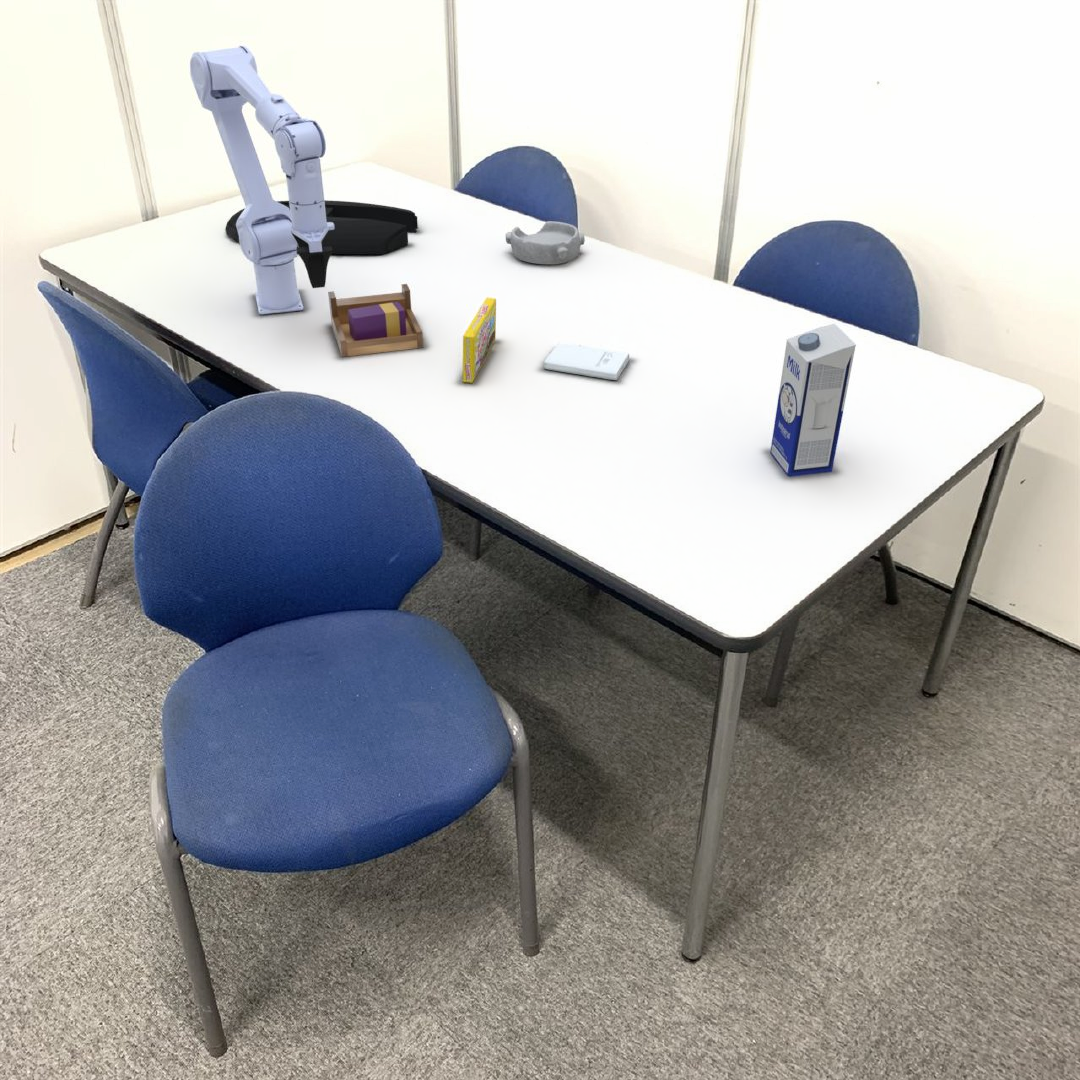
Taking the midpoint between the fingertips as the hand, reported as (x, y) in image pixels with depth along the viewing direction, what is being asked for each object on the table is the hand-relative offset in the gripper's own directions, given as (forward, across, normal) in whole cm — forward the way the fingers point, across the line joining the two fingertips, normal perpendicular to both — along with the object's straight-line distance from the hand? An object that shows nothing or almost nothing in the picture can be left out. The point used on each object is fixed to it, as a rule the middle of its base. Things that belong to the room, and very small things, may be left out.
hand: (315, 278), depth 188 cm
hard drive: (+10, -25, -41) cm, 49 cm away
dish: (+10, +25, -49) cm, 56 cm away
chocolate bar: (+8, -7, -9) cm, 14 cm away
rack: (+10, -4, -9) cm, 14 cm away
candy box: (+10, -19, -24) cm, 32 cm away
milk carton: (+10, -63, -61) cm, 88 cm away
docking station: (+10, +50, -6) cm, 51 cm away
